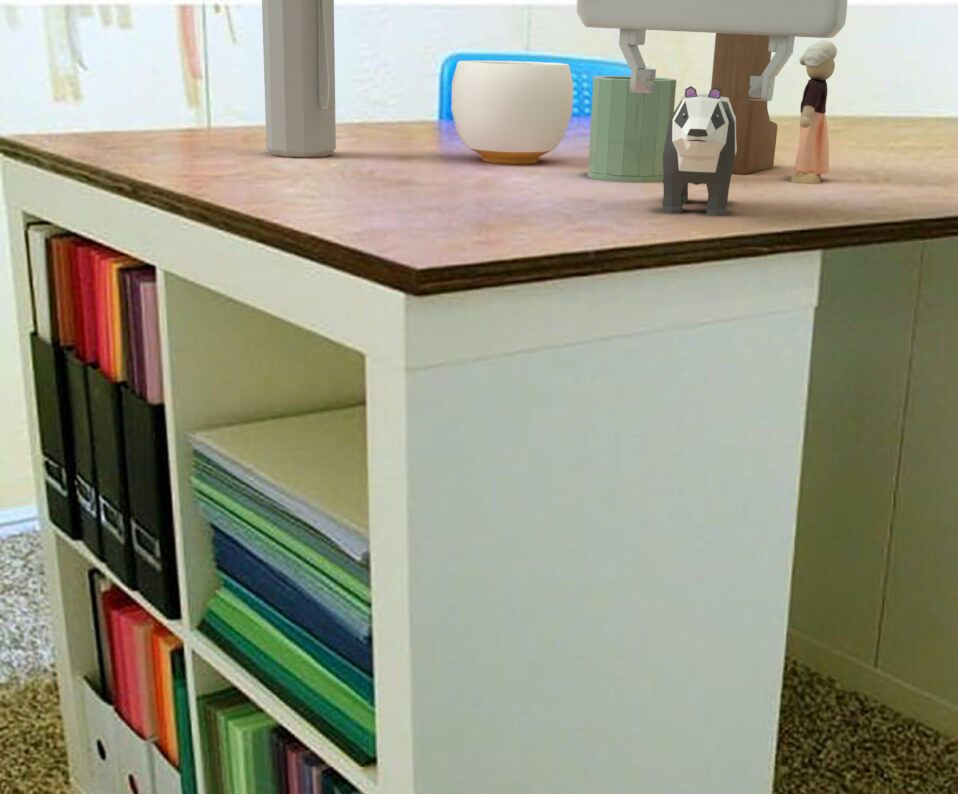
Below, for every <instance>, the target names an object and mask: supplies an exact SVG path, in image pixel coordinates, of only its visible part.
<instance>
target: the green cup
mask: <svg viewBox="0 0 958 794" xmlns="http://www.w3.org/2000/svg"><path fill="white" fill-rule="evenodd" d="M630 77H631V75H629V76H628V75H598V76H596V75H595V76H593V77H592V86H591V87H592V89H591V107H590V125H589V127H590V128H589V143H588V148H589V149H588V160H587V162H588V163H587V170H588V171H587V177H588V178H591V179H593V180H599V181H608V182H621V183H658V182H663V178H664V173H663V151H664V146H665V140H666V134H667V128H668V122H669V119H670V118H671V116H672V115H673V113H674V112H675V106H676V105H675V104H676V103H675V102H676V90H677V79H675V78H669V77H656V76H655V79H654V80H653V82H654V84H655V87H654V91H653V93H633V92H630Z"/></svg>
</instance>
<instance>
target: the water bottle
mask: <svg viewBox="0 0 958 794" xmlns="http://www.w3.org/2000/svg"><path fill="white" fill-rule="evenodd" d="M261 13H262V14H261V18H262V20H261V21H262V46H263V47H262V50H263V51H262V52H263V76H264V77H263V79H264V83H263V84H264V108H265V109H264V113H265V115H264V116H265V143H266V144H265V145H266V150H267V151H268V152H269V153H270V154H271V155H273V156H276V157H279V158H280V157H282V158H295V159H296V158H297V159H310V158H311V159H312V158H313V159H314V158H326V157H329V156H331V155H332V154H333V153H334V152H335V150H336V148H337V141H336V140H337V139H336V138H337V136H336V135H337V134H336V133H337V132H336V131H337V130H336V68H335V67H336V65H335V63H336V62H335V60H336V59H335V58H336V57H335V0H261Z"/></svg>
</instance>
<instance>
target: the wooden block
mask: <svg viewBox="0 0 958 794" xmlns="http://www.w3.org/2000/svg"><path fill="white" fill-rule="evenodd" d="M769 38H770V35H752V34H730V33H715V38H714V50H713V61H712V62H713V63H712V75H711V83H710V90H711V89H713V88H715V87H716V88H718V89H720V90H721V97H727V98H729V101H730V104H731V107H732V110H733V113H734V115H735V117H736V147H737V151H736V155H735V161H734V165H733V170H732V174H733V175H741V176H743V175H748V174H753V173H756V172H760V171H764V170H767V169H771V168H773V167H774V164H775V155H776V145H777V137H778V129H779V128H778V124H777V123H776V122H775V121H772V120H771V119H770V113H769V110H768V101H757V100H749V98H748V94H749V90H750V89H751V87H750V76H752V75H762V73H763V72H764V70H765V69H766V67H767V66H768V64H769V63H770V61H771V59H772V52H769V51H768V47H769ZM732 174H731V175H732Z"/></svg>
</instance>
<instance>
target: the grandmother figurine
mask: <svg viewBox="0 0 958 794" xmlns="http://www.w3.org/2000/svg"><path fill="white" fill-rule="evenodd" d="M837 54H838V49H837V46H836V45H835V43H834V42H833V41H829V40H825V39H824V40H823V39H822V40H817V41H816V42H814V43H812V44H810V45H809V46H808V48H806V49H805V50H804V52H803V54H802V55H801V56H800V57H799V60H798V61H799V64H800V65H801V66H805V69H806V74H807V76H808V77H809V80H808V81H807V83H806V84H805V86H804V90H803V93H802V94H803V95H802V100H801V102H800V111H799V112H800V119H799V139H798V148H797V154H796V158H795V163H794V171H797V172H795V173H794V175H793V176H792V177H791V178H790V182H793V183H799V184H809V185H810V184H811V185H812V184H821V181H822V180H823V179H822V175H825V174H828V173H829V172H830V144H829V143H830V141H829V131H828V122H827V116H826V112H827V108H826V107H827V100H828V83H827V80H828V79H830V78H831V77H832V75H833V73H834V72H835V68H836V63H835V59H836V56H837Z"/></svg>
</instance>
